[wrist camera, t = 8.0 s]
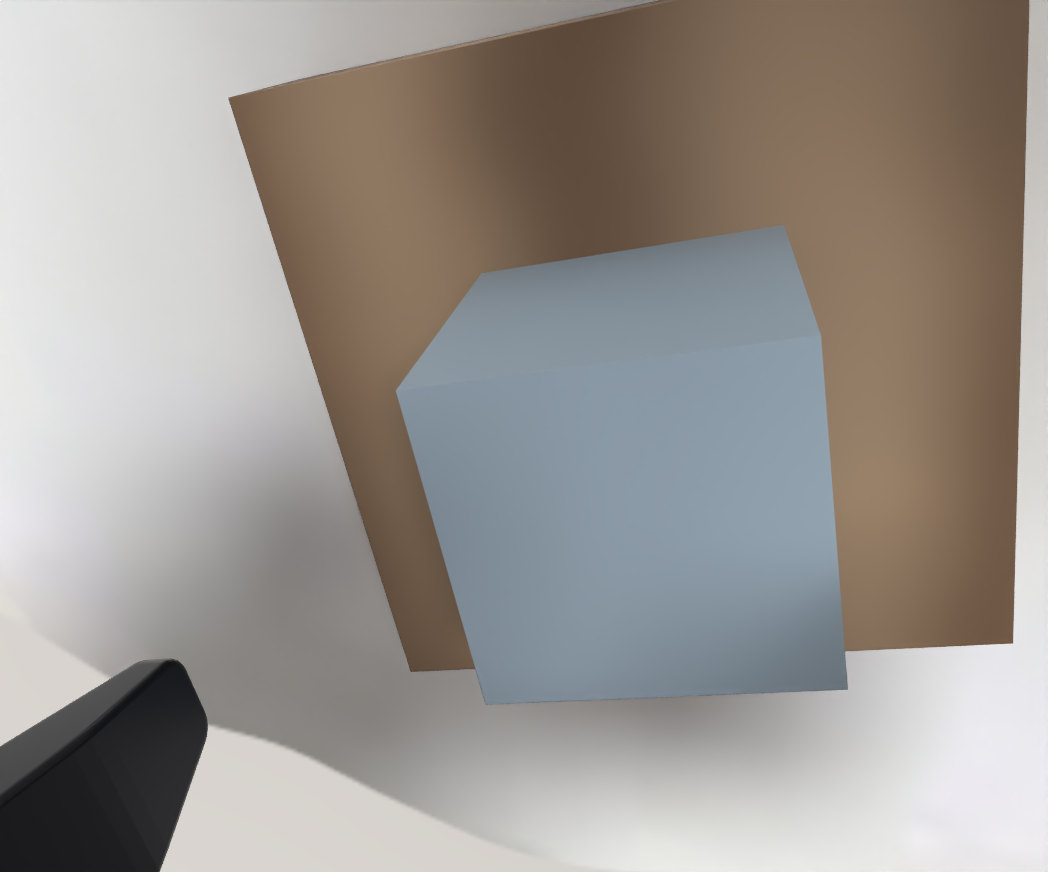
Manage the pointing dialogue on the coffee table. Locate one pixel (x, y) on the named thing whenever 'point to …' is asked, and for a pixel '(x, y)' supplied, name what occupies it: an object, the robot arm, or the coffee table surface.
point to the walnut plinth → (685, 214)
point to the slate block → (636, 474)
